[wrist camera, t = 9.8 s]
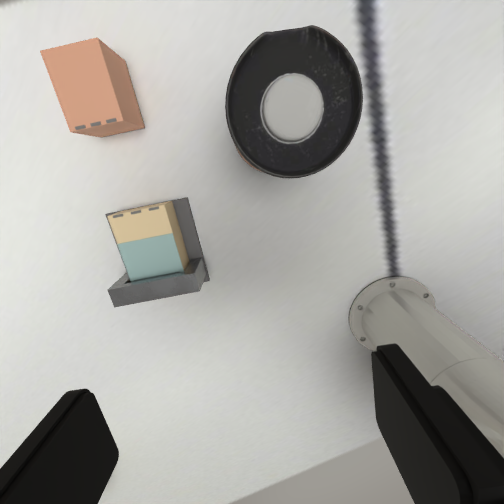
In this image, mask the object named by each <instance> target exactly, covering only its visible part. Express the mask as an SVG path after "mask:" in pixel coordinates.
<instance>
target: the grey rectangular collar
mask: <svg viewBox="0 0 504 504" xmlns="http://www.w3.org/2000/svg"><path fill="white" fill-rule="evenodd" d="M205 275H206V269H205V266H204V262H203V258H202V257H200V258H195V259H191V260H190V262H189V264H188V265H187V267H186V269H185V271H184V272H183V273H180V272H175V273H169V274H164V275H159V276H154V277H149V278H144V279H138V280H134V281H133V282H132V283H131V281H130V278H129V275H128V273H125V274H124V275H123V276H122V277H121V278H120V279H119V280H118V281H117V282H116V283H115V284H113V285H112V286H111V287H110V288H109V289H108V292H109V295H110V297H111V300H112V302H113V305H114V307H119V306H124V305H129V304H134V303H140V302H145V301H150V300H156V299H161V298H166V297H171V296H177V295H182V294H187V293H193V292H198V291H200V289H201V286H202V284H203V281H204V278H205Z"/></svg>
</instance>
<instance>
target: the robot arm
mask: <svg viewBox="0 0 504 504" xmlns="http://www.w3.org/2000/svg"><path fill="white" fill-rule="evenodd" d="M349 323H350V328H351V330H352V333H353V335H354V336H355V338H356V339H357V341H358V342H359V343H360V344H361V345H363V346H364V347H366V348H367V349H370V350H372V351H373V352H372V353H371V356H372V370H373V384H374V398H375V411H376V420H377V423H378V427H379V429H380V431H381V433H382V436H383V438H384V440H385V442H386V444H387V446H388V448H389V450H390V452H391V455H392V457H393V459H394V461H395V463H396V465H397V467H398V469H399V471H400V474H401V476H402V478H403V480H404V482H405V484H406V486H407V488H408V490H409V492H410V495H411V497H412V499H413V501H414V503H415V504H504V361H503V360H501V359H500V358H499V357H497V356H496V355H495V354H494V353H492V352H491V351H490V350H488V349H487V348H486V347H484V346H483V345H482V344H481V343H479V342H478V341H477V340H475V339H474V338H473V337H471V336H470V335H469V334H468V333H466V332H465V331H464V330H462V329H461V328H460V327H458V326H457V325H456V324H455V323H453V322H452V321H451V320H449V319H448V318H447V317H446V316H444V315H443V314H442V313H440V312H439V311H438V310H436V305H435V301H434V298H433V296H432V294H431V293H430V291H429V290H428V289H427V288H426V287H425V286H424V285H422V284H421V283H419V282H418V281H415V280H413V279H411V278H407V277H388V278H384V279H381V280H378V281H376V282H374V283H372V284H371V285H369V286H368V287H367V288H365V289H364V290H363V291H362V292H361V293H360V294H359V295H358V297H357V298H356V299H355V301H354V303H353V305H352V307H351V310H350V315H349ZM118 457H119V451H118V448H117V446H116V443H115V441H114V439H113V436H112V434H111V432H110V430H109V427H108V425H107V423H106V420H105V418H104V416H103V414H102V411H101V409H100V407H99V405H98V402H97V400H96V398H95V395H94V394H93V393H91V392H90V391H89V390H88V389H79V390H72V391H68V392H66V393H65V394H64V395H63V396H62V397H61V399H60V400H59V401H58V402H57V403H56V404H55V406H54V407H53V408H52V409H51V410H50V411H49V413H48V414H47V415H46V416H45V417H44V418H43V420H42V421H41V422H40V423H39V424H38V425H37V427H36V428H35V429H34V430H33V431H32V432H31V434H30V435H29V436H28V437H27V438H26V439H25V441H24V442H23V443H22V444H21V445H20V446H19V448H18V449H17V450H16V451H15V452H14V453H13V455H12V456H11V457H10V458H9V459H8V460H7V462H6V463H5V464H4V465H3V466H2V468H1V469H0V504H98V502H99V500H100V498H101V495H102V493H103V491H104V489H105V487H106V485H107V483H108V481H109V479H110V477H111V474H112V472H113V470H114V468H115V466H116V464H117V461H118Z"/></svg>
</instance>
